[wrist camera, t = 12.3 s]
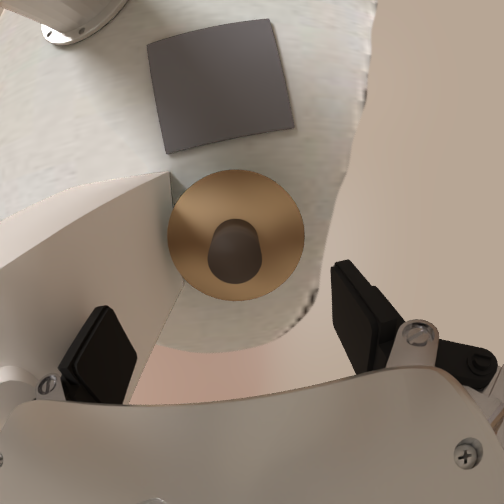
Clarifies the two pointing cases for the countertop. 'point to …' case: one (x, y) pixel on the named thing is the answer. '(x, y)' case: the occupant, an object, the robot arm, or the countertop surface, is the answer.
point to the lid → (235, 235)
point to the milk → (83, 276)
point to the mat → (218, 84)
